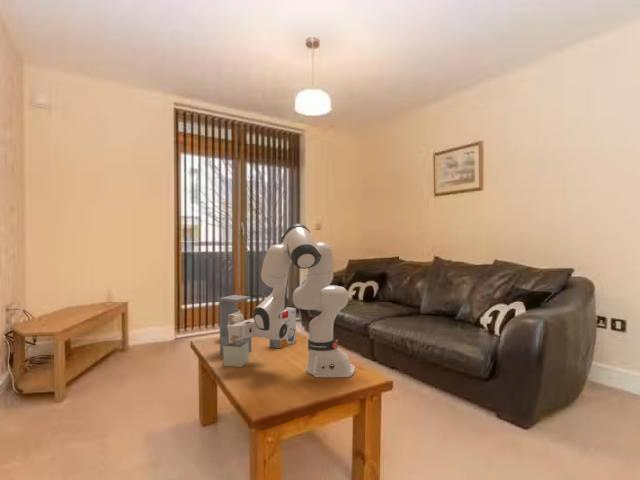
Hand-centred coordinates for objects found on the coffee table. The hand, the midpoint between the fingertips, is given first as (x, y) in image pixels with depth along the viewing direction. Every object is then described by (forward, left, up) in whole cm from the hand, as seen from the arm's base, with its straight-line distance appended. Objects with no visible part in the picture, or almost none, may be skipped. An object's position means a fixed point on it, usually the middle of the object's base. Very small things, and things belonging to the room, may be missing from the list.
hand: (234, 323), depth 177 cm
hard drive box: (-14, -33, -19) cm, 40 cm away
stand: (-1, 0, -19) cm, 19 cm away
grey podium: (+6, -14, -19) cm, 24 cm away
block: (-1, 0, -9) cm, 9 cm away
